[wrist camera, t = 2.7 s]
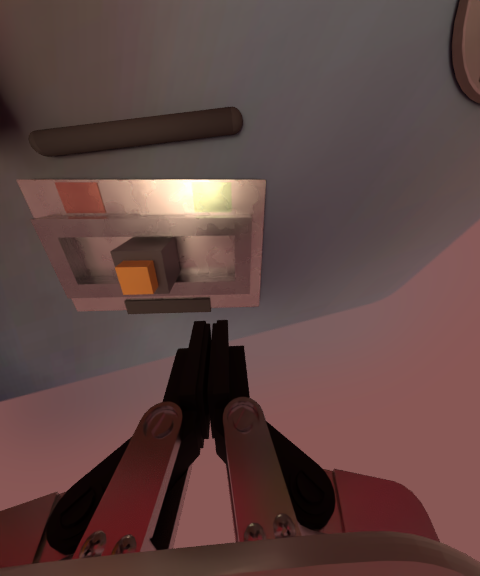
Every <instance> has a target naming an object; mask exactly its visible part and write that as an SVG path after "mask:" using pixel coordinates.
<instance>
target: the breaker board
mask: <svg viewBox="0 0 480 576" xmlns="http://www.w3.org/2000/svg"><path fill="white" fill-rule="evenodd" d="M17 182H18V184H19V186H20V189H21V191H22V193H23V195H24V197H25V199H26V201H27V204H28V206H29V208H30V210H31V212H32V214H33V217H34V219H30V220H31V222H32V224H33V226H34V228H35V230H36V232H37V234H38V236H39V238H40V241H41V243H42V245H43V247H44V249H45V251H46V253H47V255H48V257H49V260H50V262H51V264H52V266H53V268H54V270H55V272H56V274H57V276H58V279H59V281H60V283H61V285H62V287H63V289H64V291H65V293H66V295H67V297H68V298H72V300H73V303H74V305H75V307H76V309H77V311H105V310H127V309H126V306H125V303H124V301H125V300H150V299H191V298H210V304H211V308H218V307H256V306H259V297H260V279H261V261H262V242H263V224H264V206H265V187H266V180H67V179H30V180H17ZM153 236H175V240H176V246H177V253H178V259H179V266H180V274H179V276H178V278H177V280H176V281H175V283H174V285H173V287H172V289H171V291H170V293H169V294H137V295H123V292H122V289H121V286H120V283H119V280H118V276H117V273H116V270H115V266H114V262H113V259H112V256H111V253H110V251H112V250H113V249H115V248H117V247H118V246H120V245H121V244H123V243H124V242H126V241H128V240H129V239H131V238H132V237H153Z"/></svg>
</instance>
